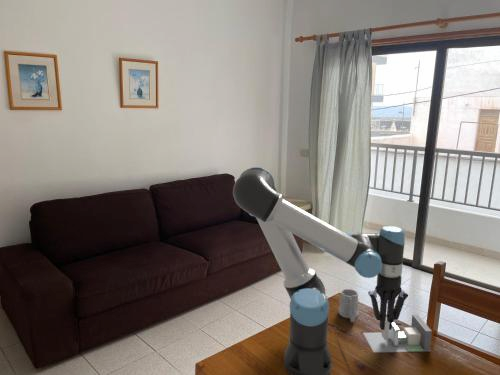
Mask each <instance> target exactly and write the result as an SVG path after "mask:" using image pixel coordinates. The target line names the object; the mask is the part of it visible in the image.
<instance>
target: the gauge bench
mask: <svg viewBox="0 0 500 375" xmlns="http://www.w3.org/2000/svg"><path fill="white" fill-rule="evenodd" d="M411 317H412V318H411V323H410V324H411V325H410V327H416V329H417V330H418V331H419V332H420V334H421V338H420V345H408V344H407V343H406V342H405V343H398V345H396V346H394V344H393V343H392V341H391V340H390V338H389V337H388V340H384V338H383V337H382V335H381V334H382V331H381V332H380V331H379V332H362V333H363V336H364V337H365V339H366V341H367V342H368V345H369V347H370V348H371V350H372V352H373V353H403V352H404V353H406V352H407V353H411V352H413V353H414V352H415V353H416V352H431V344H432V335H433V334H432V333H433V330H432V329H431V328H430V327H429V326H428V324H426V322H425V321H424V320H423V319H422V318H421V317H420V315H419V314H412V315H411ZM399 332H404V330H399Z"/></svg>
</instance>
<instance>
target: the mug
mask: <svg viewBox="0 0 500 375" xmlns="http://www.w3.org/2000/svg"><path fill="white" fill-rule="evenodd" d="M359 303H360V302H359V293H358V292H357V290H354V289H352V288H351V289H350V288H349V289H348V288H346V289H342V290H341V292H340V297H339V308H338V311H337V312H338V314H339V315H340V316H341V317H343V318H346V319H350V323H355V320H356V318H357V317H359V315H360V314H359Z"/></svg>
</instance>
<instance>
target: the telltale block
mask: <svg viewBox="0 0 500 375" xmlns="http://www.w3.org/2000/svg"><path fill="white" fill-rule="evenodd" d="M403 331H404V332H405V334H406V335H407V336H408V342H406V343H407V344H408V345H420V338H421V334H420V332H419V331H418V330H417V329H416V327H411V326H409V327H403Z"/></svg>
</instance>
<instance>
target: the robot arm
mask: <svg viewBox="0 0 500 375" xmlns="http://www.w3.org/2000/svg"><path fill="white" fill-rule="evenodd" d="M232 196H233V199H234V201H235V204H236V205H237V206H238V207H239V208H241V209H242V210H243V211H245V212H246V213H248V215H250V216H251V217H255V219H256V220H257V222H258V225H259V226H260V229H261V231H262V233H263V235H264V237H265V239H266V241H267V243H268V245H269V248H270V249H271V251H272V253H273V255H274V258H275V260H276V262H277V264H278V265H279V266H278V267H279V268H280V270H281V272H282V274H283V276H284V280H283V287H284V288H285V290H286V292H287V294H288V297H289V299H290V301H289V318H290V319H289V342H288V344H287V345H286V346H287V347H286V349H285V352H284V355H283V366H284V369H285V371H286V372H288V373H289V374H290V375H330V374H331V372H332V369H333V368H332V366H333V359H332V356H331V353H330V348H329V345H328V325H329V312H330V306H329V304H330V303H329V300H328V297H327V296H326V288H325V285H324V283H323V281H322V279H321V278H320V277H319V276H318V275H317V273H316V271H315V269H314V268H312V267H309V266H308V264H307V262H306V260H305V258H304V255H303V253H302V251H301V250H300V247H299V245H298V243H297V240H296V239H295V237H294V235H295V236H296V237H298V238H300V239H303V240H304V241H306V242H308V243H309V244H311V245H313V246H315V247H317V248H318V249H320V250H322V251H324V252H326V253H327V254H329V255H331V256H333V257H335V258H337V259H339V260H340V261H343V262H344V263H346V264H348V265H349V266H351V267H353V268H354V270H355V271H356V272H357V273H358V275H359V276H361V277H362V278H366V279H371V278H374V277H376V286H375V287H374V290H372V291H370V290H369V291H368V292H367V294H368V296H369V297H370V299H371V305H372V310H373V314H374V317H375V319H376V320H377V321H379V328H380V330H381V332H382V334H381V335H382V337H383V338H384V340H388V336H389V330H391V328H392V323H393V322H394V321H397V320H398V319H399V318H400V315H401V312H402V309H403V306H404V304H405V302H406V300H407V298H408V297H409V294H408V293H407V292H406V291H405V290H403V289H402V286H401V285H402V277H403V276H402V274H403V266H404V265H403V263H404V262H403V261H404V253H405V244H406V242H405V237H406V236H405V235H406V234H405V231H404V229H402V228H400V227H398V226H394V225H387V226H382V227H381V228H380V230H379V232H377V233H373V232H372V233H371V232H355V231H352V232H344V231H342V230H340V229H338V228H337V227H335V226H333V225H331V224H329V223H327V222H326V221H324V220H322V219H320V218H318V217H317V216H315V215H313V214H311V213H309V212H307V211H306V210H303V209H302V208H301V207H298V206H296V205H294V204H292V203H291V202H289V201H288V200H285V199H284V198H283V195H282V193H280V192H279V191H278V190H277V188H276V186H275V179H274V177H273V175H272V174H271V173H270V171H268V170H267V169H266V168H263V167H261V166H253V167H250V168H247V169H246V170H244V171H243V172H242V173H241V174H240V176H239V177H238V178H237V179H236V181H235V182H234V185H233V189H232ZM377 297H380V298H379V300H380V302H379V303H380V305H378V299H377ZM379 306H380V307H379ZM394 323H395V322H394Z"/></svg>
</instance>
